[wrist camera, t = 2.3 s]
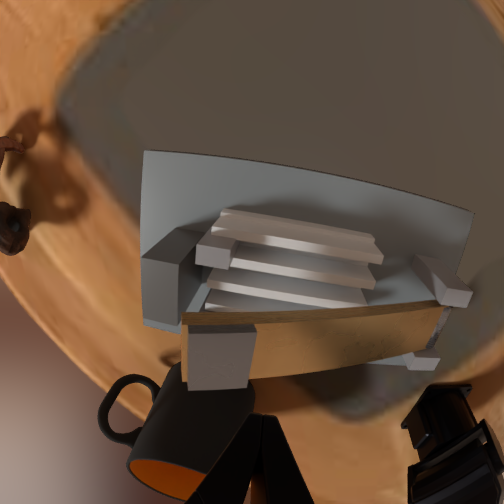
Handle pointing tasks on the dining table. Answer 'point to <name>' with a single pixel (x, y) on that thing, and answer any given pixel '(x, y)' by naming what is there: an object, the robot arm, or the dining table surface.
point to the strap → (300, 340)
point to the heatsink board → (290, 242)
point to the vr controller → (12, 212)
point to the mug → (178, 431)
